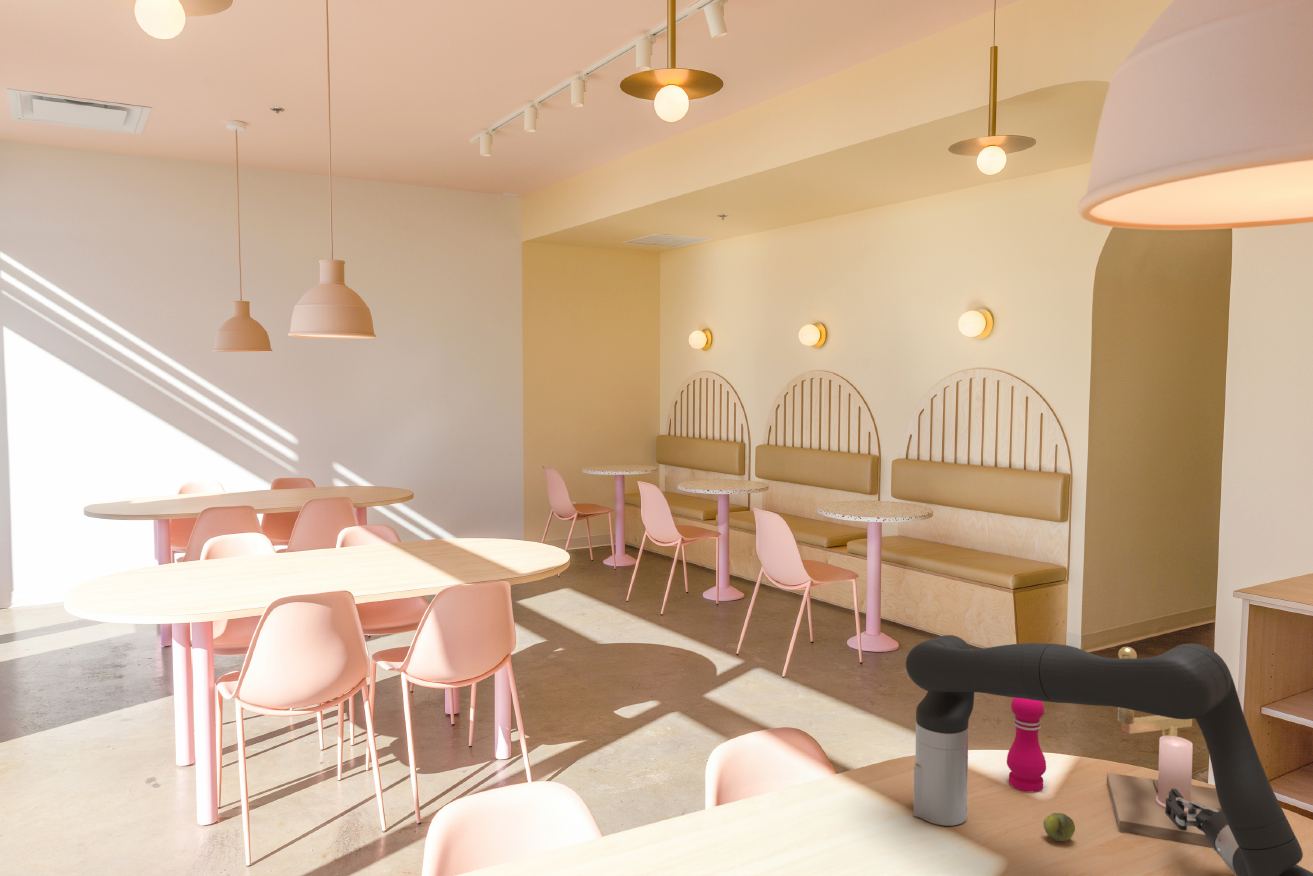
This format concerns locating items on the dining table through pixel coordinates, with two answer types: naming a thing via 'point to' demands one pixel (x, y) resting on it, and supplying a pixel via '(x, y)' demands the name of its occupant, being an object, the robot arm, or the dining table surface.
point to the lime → (1059, 826)
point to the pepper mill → (1026, 746)
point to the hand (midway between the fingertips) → (1200, 796)
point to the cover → (1174, 768)
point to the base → (1153, 809)
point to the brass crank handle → (1147, 722)
